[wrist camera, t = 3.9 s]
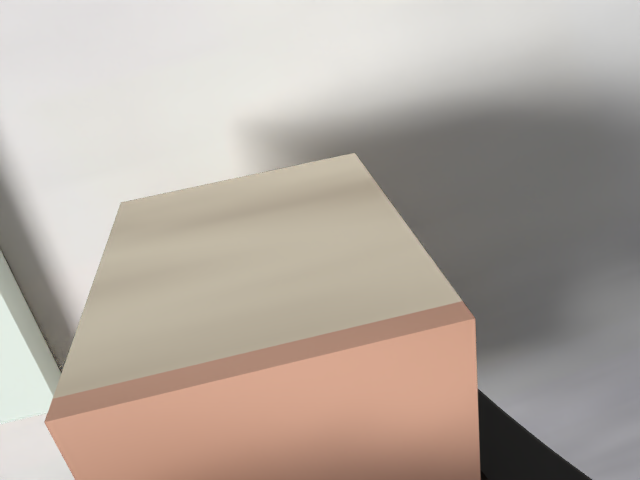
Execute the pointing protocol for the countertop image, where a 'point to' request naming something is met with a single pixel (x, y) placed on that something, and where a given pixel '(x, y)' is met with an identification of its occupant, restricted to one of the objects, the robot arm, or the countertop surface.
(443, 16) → the countertop surface
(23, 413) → the mat
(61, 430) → the maple block
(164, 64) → the countertop surface
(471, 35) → the countertop surface
